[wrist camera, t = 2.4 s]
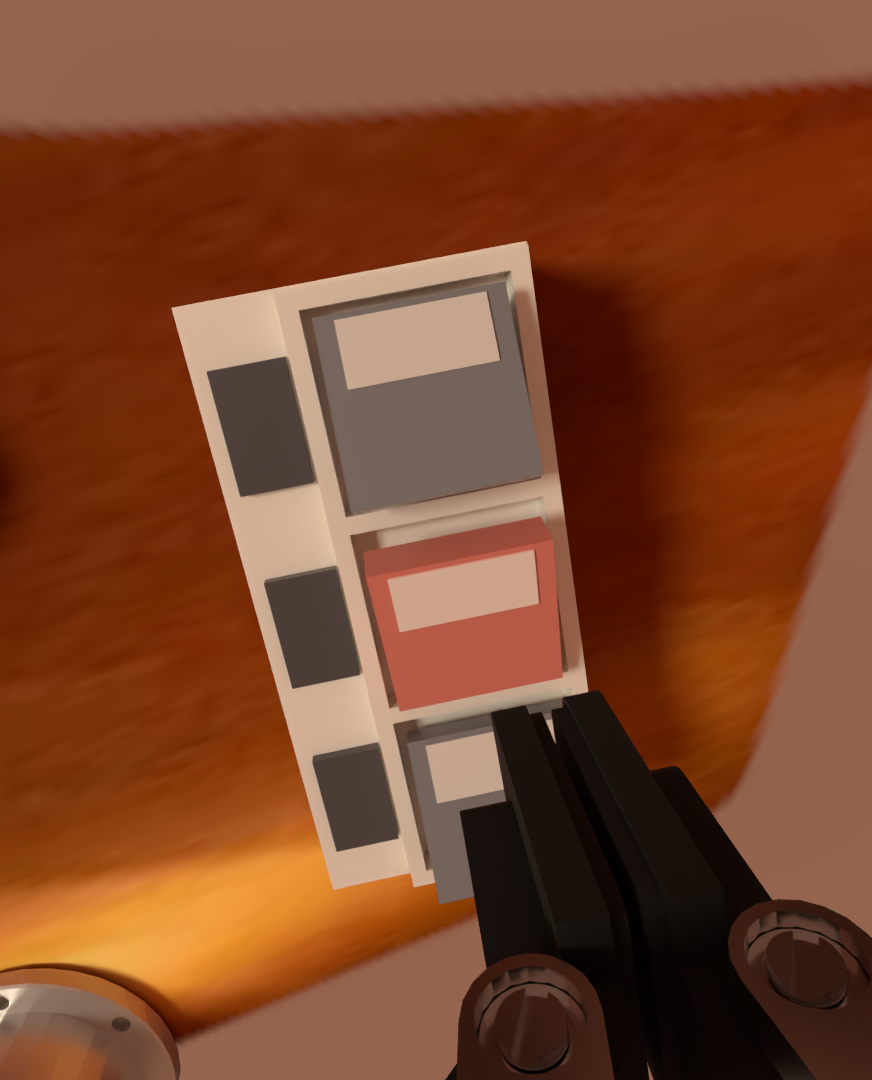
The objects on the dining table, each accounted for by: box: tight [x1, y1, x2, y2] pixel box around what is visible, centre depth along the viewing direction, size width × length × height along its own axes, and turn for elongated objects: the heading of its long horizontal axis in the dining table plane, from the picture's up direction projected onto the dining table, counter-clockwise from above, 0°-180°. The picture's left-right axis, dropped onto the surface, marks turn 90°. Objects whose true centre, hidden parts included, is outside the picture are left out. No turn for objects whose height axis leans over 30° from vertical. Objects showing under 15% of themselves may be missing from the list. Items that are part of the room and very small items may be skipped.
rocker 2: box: [407, 700, 563, 904], centre depth 25 cm, size 6×6×2 cm
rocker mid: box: [364, 516, 563, 712], centre depth 23 cm, size 6×6×2 cm
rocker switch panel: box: [172, 241, 588, 890], centre depth 26 cm, size 22×11×6 cm, turn 10°
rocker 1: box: [312, 281, 544, 514], centre depth 21 cm, size 6×6×2 cm
